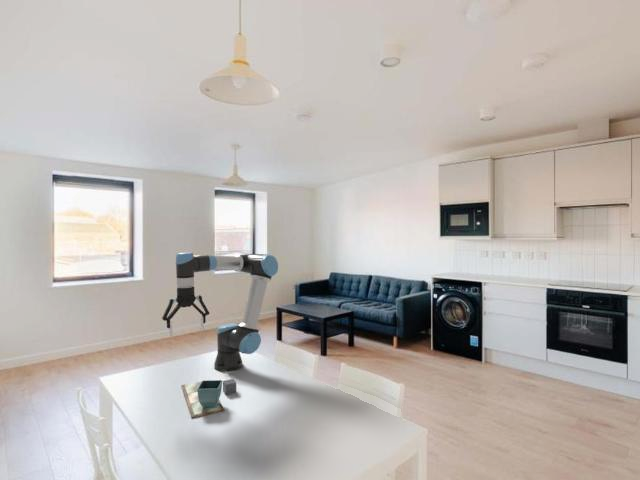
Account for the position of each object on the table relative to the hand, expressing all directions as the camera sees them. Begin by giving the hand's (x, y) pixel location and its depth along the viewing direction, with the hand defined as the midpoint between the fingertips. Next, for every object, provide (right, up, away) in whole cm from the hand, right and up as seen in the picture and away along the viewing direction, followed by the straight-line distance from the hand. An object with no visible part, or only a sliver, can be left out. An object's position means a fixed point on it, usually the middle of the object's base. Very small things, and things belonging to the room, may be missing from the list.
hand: (186, 332), depth 165 cm
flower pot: (+14, -28, -11) cm, 34 cm away
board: (+7, -29, -3) cm, 30 cm away
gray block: (+19, -29, +3) cm, 34 cm away
